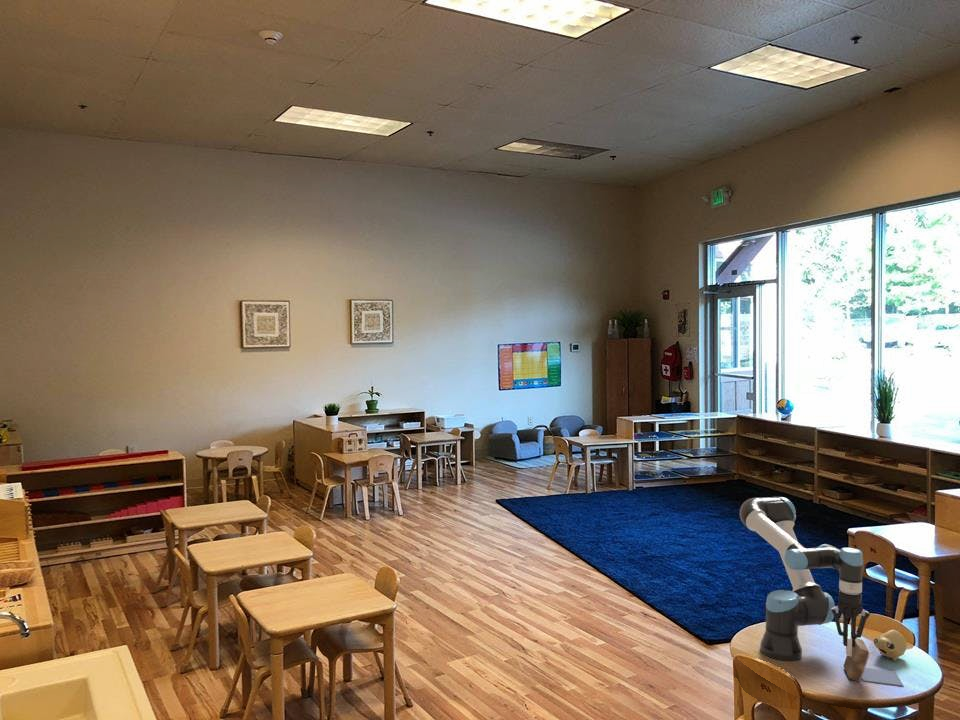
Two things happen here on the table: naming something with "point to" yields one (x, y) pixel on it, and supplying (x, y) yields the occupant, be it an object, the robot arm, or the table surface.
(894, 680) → the mat
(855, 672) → the brown flat block
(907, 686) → the table surface
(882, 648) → the beige rounded lump
